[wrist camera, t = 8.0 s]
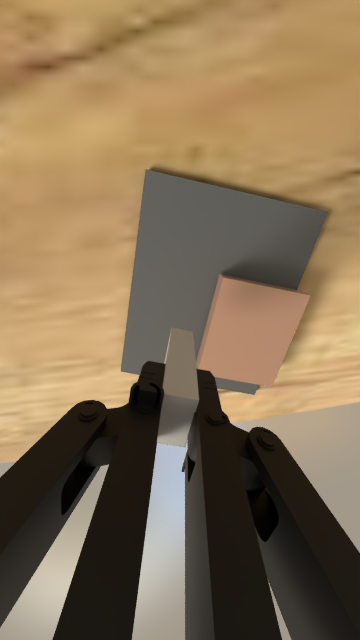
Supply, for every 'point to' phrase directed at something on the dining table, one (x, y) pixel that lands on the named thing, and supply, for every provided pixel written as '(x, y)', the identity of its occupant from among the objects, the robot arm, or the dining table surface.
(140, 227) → the mat
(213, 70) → the dining table surface
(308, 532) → the robot arm
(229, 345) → the block
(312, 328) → the dining table surface
